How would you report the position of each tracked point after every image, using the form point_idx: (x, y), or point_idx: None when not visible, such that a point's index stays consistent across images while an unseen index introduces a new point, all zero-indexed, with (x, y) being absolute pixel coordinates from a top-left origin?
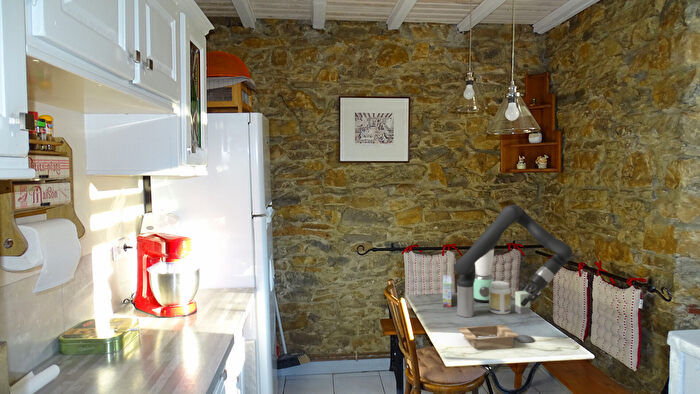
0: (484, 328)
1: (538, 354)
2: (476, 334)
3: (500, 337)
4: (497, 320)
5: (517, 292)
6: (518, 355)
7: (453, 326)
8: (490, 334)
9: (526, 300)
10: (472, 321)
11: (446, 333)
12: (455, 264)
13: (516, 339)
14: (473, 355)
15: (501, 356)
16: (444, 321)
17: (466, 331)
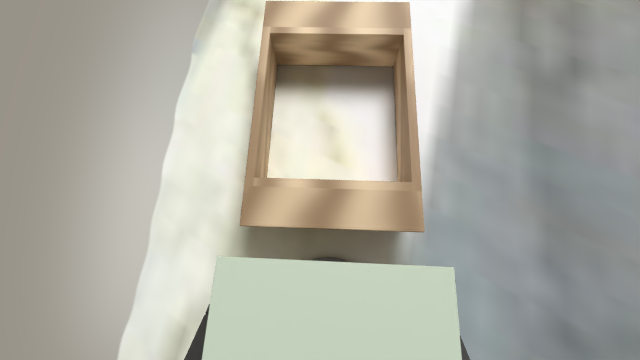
0: (405, 122)
1: (154, 269)
2: (397, 99)
3: (253, 125)
4: (631, 315)
5: (363, 271)
6: (176, 179)
7: (529, 64)
8: (399, 164)
9: (193, 346)
10: (604, 169)
11: (447, 16)
12: None
13: (322, 258)
14: (230, 31)
15: (190, 113)
16: (597, 51)
17: (358, 20)
